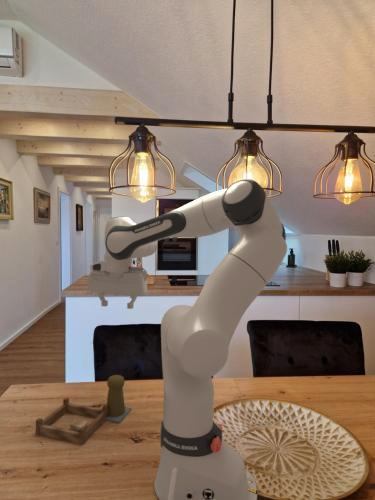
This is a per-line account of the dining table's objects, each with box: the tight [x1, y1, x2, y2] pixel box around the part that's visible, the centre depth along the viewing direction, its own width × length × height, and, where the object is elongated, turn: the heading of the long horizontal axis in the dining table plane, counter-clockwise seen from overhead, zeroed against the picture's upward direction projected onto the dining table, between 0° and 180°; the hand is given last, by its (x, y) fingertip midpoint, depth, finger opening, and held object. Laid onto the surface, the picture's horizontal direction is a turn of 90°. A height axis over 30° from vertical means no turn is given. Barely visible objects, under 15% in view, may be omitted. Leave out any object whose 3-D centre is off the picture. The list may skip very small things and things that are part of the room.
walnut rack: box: [35, 397, 108, 446], centre depth 94 cm, size 15×13×4 cm
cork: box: [105, 374, 126, 417], centre depth 101 cm, size 6×6×11 cm
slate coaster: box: [94, 406, 132, 425], centre depth 100 cm, size 8×8×1 cm
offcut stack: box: [68, 419, 89, 432], centre depth 89 cm, size 5×4×4 cm
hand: (117, 307), depth 109 cm, fingers open, 8 cm apart
